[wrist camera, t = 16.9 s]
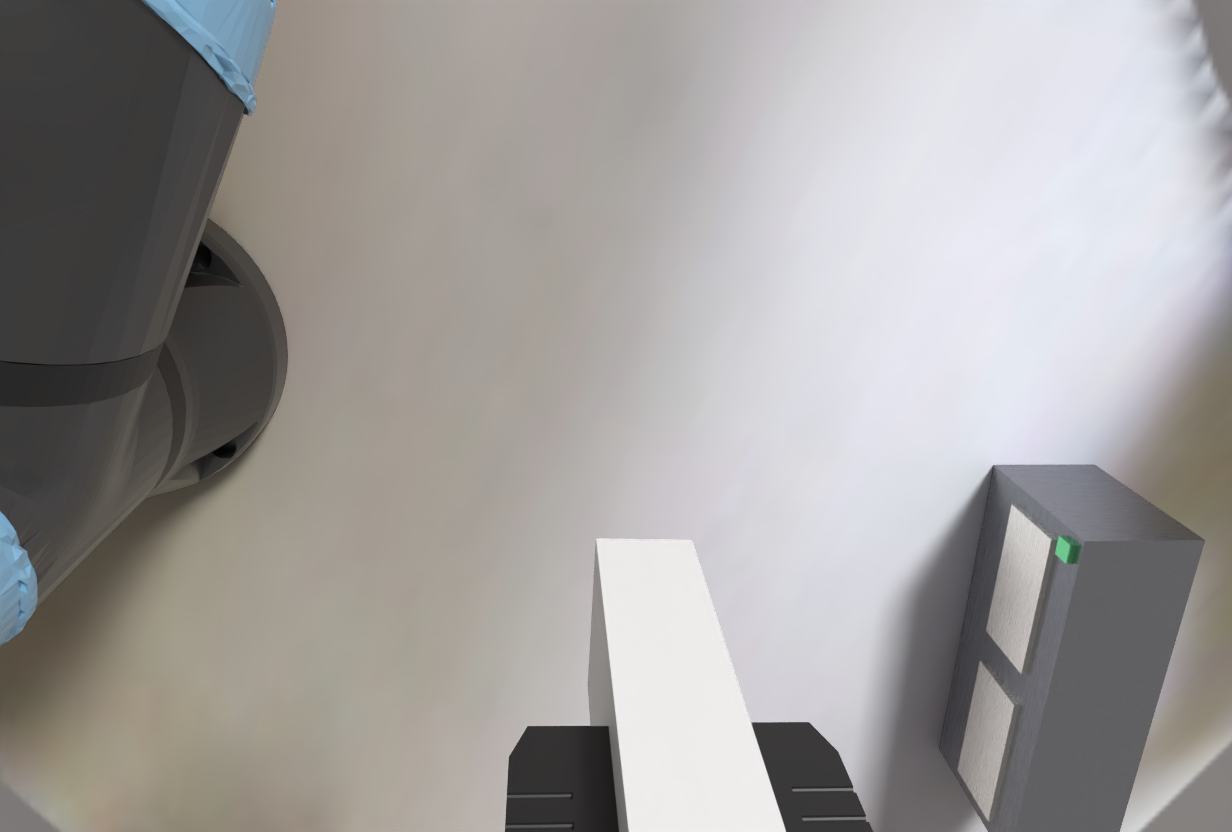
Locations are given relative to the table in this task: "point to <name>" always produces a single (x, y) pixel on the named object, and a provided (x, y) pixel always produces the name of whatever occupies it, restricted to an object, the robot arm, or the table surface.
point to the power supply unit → (1064, 647)
